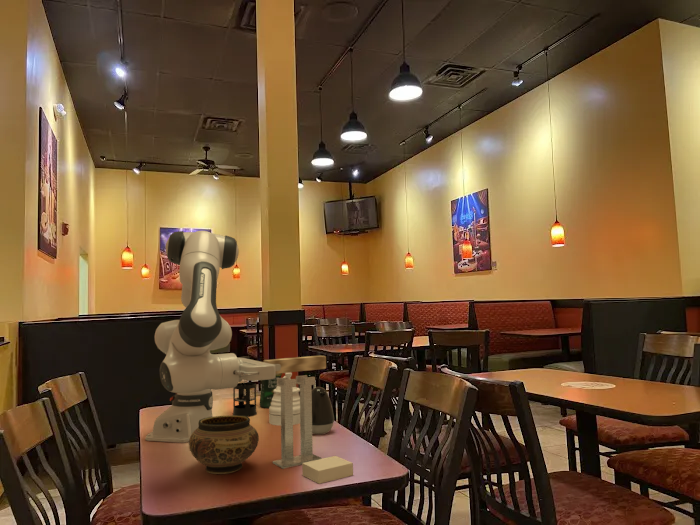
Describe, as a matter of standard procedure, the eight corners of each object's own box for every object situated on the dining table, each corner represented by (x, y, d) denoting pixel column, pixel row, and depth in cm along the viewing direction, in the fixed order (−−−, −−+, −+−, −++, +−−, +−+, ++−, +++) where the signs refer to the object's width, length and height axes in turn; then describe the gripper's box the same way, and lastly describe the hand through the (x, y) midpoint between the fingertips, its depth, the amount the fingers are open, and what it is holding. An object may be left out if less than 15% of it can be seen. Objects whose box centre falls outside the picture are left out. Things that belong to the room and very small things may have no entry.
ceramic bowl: (260, 489, 128) (274, 428, 131) (189, 482, 121) (205, 418, 124) (238, 463, 150) (251, 411, 153) (177, 456, 143) (191, 402, 146)
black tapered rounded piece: (311, 438, 167) (310, 390, 168) (299, 431, 176) (298, 386, 177) (339, 433, 171) (338, 387, 173) (326, 427, 181) (325, 383, 182)
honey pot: (310, 421, 191) (309, 372, 192) (279, 427, 183) (279, 375, 184) (292, 416, 201) (291, 369, 202) (262, 421, 193) (262, 372, 195)
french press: (260, 415, 203) (259, 356, 205) (236, 418, 199) (236, 358, 201) (251, 410, 214) (251, 354, 216) (229, 413, 210) (229, 356, 212)
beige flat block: (318, 483, 123) (318, 470, 124) (302, 475, 130) (302, 463, 130) (353, 475, 129) (352, 462, 129) (335, 467, 136) (335, 455, 136)
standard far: (302, 464, 139) (301, 378, 141) (292, 459, 144) (290, 376, 146) (321, 460, 142) (320, 376, 144) (310, 455, 147) (309, 374, 149)
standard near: (282, 468, 136) (281, 381, 138) (272, 463, 141) (271, 378, 142) (302, 464, 139) (301, 378, 141) (292, 459, 144) (290, 376, 146)
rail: (268, 374, 137) (268, 361, 138) (263, 373, 140) (263, 360, 140) (326, 368, 147) (325, 356, 148) (320, 367, 150) (320, 355, 150)
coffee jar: (262, 409, 216) (262, 364, 218) (258, 406, 223) (257, 362, 225) (285, 406, 220) (284, 362, 222) (279, 403, 227) (279, 361, 229)
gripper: (243, 362, 124) (293, 357, 132) (213, 355, 141) (260, 351, 149) (243, 388, 124) (294, 382, 132) (213, 378, 140) (260, 373, 148)
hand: (275, 366), depth 140 cm, fingers closed on rail, 3 cm apart
